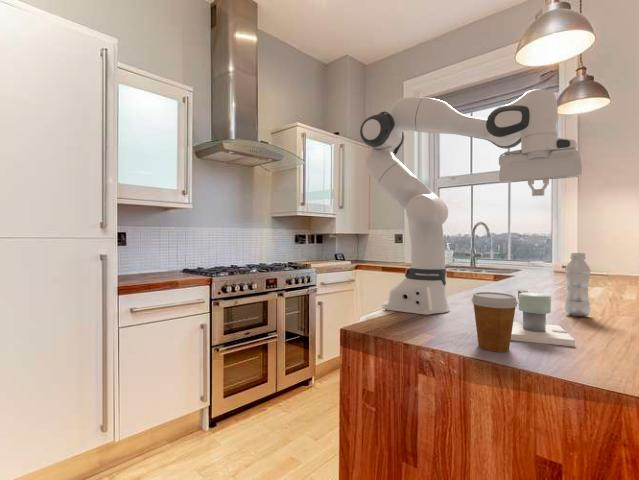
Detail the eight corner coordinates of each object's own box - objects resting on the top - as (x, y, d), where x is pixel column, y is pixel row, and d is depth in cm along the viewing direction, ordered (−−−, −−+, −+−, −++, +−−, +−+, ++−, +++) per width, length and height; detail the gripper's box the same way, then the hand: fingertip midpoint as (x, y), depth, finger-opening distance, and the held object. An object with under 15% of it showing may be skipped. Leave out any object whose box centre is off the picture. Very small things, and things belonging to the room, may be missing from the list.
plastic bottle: (595, 318, 107) (596, 253, 107) (570, 317, 109) (571, 253, 108) (583, 314, 114) (584, 252, 113) (560, 313, 115) (561, 252, 115)
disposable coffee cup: (477, 338, 87) (477, 290, 86) (521, 346, 81) (521, 294, 80) (465, 348, 79) (465, 295, 79) (512, 357, 73) (513, 300, 73)
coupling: (554, 314, 85) (554, 298, 85) (522, 312, 87) (522, 296, 87) (535, 301, 102) (535, 288, 101) (508, 300, 104) (508, 286, 104)
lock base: (506, 339, 86) (506, 315, 86) (500, 325, 99) (500, 304, 99) (575, 346, 81) (575, 320, 81) (559, 331, 94) (559, 308, 94)
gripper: (496, 150, 104) (496, 196, 105) (582, 139, 92) (581, 192, 92) (500, 154, 110) (500, 198, 110) (582, 144, 97) (581, 194, 98)
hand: (538, 195), depth 101 cm, fingers closed
